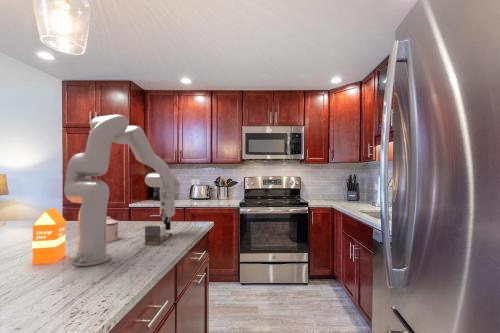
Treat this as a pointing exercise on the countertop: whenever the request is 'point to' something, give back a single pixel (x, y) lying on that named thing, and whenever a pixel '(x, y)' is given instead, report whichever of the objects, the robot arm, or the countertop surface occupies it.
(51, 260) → the orange juice
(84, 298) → the countertop surface
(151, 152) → the robot arm
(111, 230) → the teacup with lid
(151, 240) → the gauge base
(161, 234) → the gauge slider
